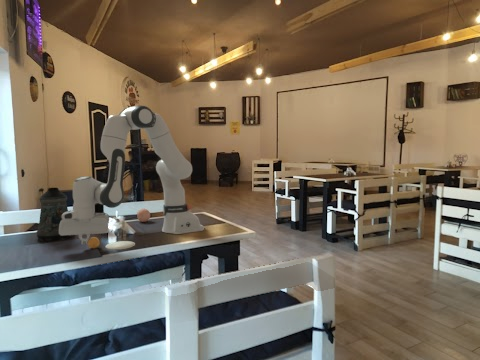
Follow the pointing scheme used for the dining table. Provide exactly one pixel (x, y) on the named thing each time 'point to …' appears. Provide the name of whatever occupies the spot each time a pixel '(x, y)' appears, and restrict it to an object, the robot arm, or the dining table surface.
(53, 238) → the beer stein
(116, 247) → the cream disc
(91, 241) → the ball
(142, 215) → the toy ball
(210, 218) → the dining table surface
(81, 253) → the dining table surface
